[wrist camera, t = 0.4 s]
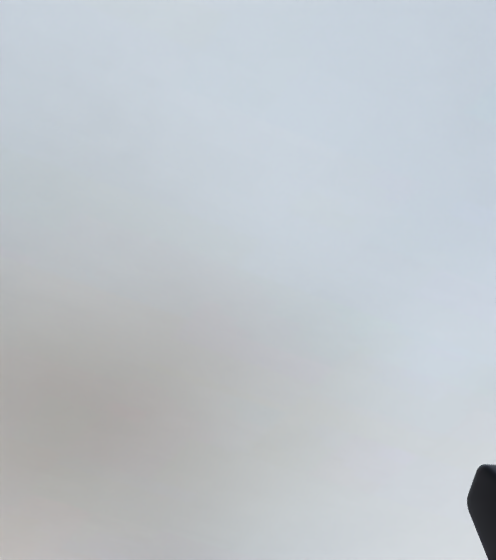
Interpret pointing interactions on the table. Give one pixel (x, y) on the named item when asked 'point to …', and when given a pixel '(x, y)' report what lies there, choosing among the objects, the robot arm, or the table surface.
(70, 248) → the table surface
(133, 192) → the table surface
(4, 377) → the table surface
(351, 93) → the table surface
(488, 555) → the robot arm
